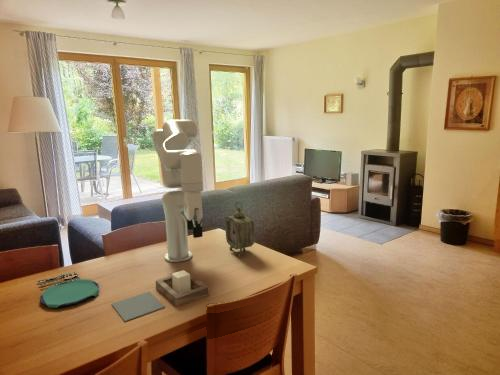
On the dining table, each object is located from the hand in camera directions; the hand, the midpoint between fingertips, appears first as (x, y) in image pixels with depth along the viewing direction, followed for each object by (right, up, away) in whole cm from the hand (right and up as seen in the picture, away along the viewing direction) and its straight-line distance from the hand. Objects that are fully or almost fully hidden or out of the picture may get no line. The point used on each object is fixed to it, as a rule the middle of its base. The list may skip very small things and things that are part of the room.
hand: (194, 233), depth 130 cm
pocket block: (-6, -23, +6) cm, 24 cm away
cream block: (-6, -23, +6) cm, 24 cm away
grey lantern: (+16, -15, +43) cm, 48 cm away
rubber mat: (-19, -25, -4) cm, 32 cm away
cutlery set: (-50, -24, +8) cm, 56 cm away
